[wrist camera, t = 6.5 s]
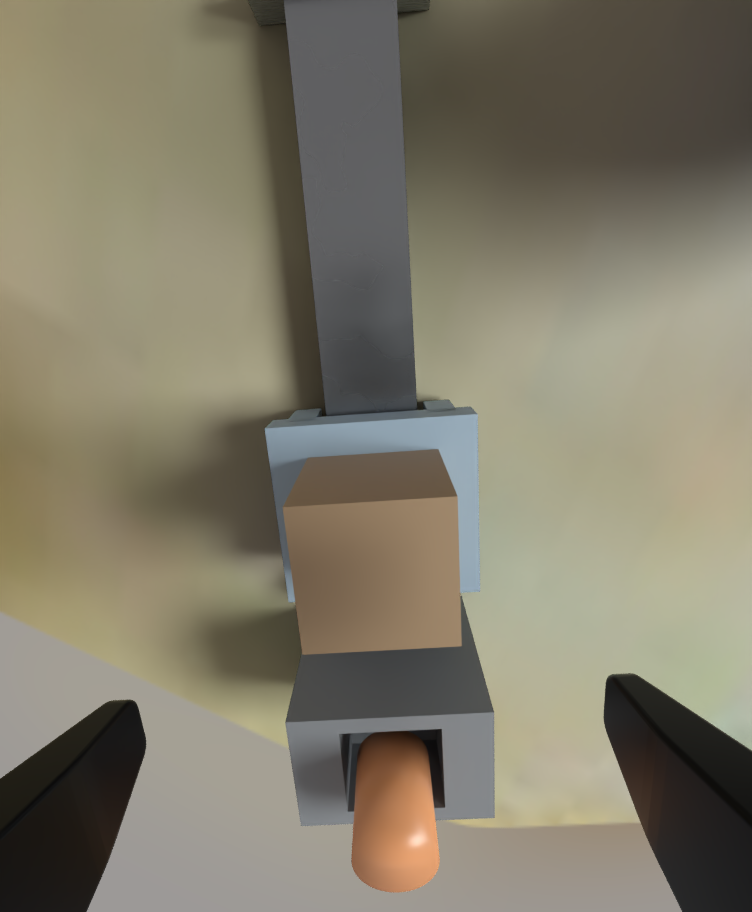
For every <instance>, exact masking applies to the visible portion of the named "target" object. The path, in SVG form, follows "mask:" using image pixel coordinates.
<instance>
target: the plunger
mask: <svg viewBox="0 0 752 912" xmlns="http://www.w3.org/2000/svg"><path fill="white" fill-rule="evenodd" d="M439 860H440V859H439V850H438V840H437V832H436V821H435V811H434V802H433V792H432V783H431V773H430V764H429V754H428V750H427V747H426V745H425V744H424V742H423V741H422V740H421V739H420V738H419V737H418V736H416V735H415V734H413V733H411V732H409V731H388V732H375V733H373V734H371V735H369V736H368V737H367V738H366V739H365V740H364V741H363V742H362V743H361V745H360V747H359V749H358V754H357V769H356V787H355V805H354V823H353V843H352V867H353V869H354V872H355V873H356V875H357V876H358V877H359V879H360V880H361V881H363V882H364V883H366V884H367V885H369V886H370V887H372V888H375V889H378V890H381V891H386V892H406V891H411V890H414V889H417V888H419V887H421V886H423V885H425V884H426V883H428V882H429V881H430V880H431V879H432V878H433V877H434V875H435V874H436V872H437V870H438V867H439Z"/></svg>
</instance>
